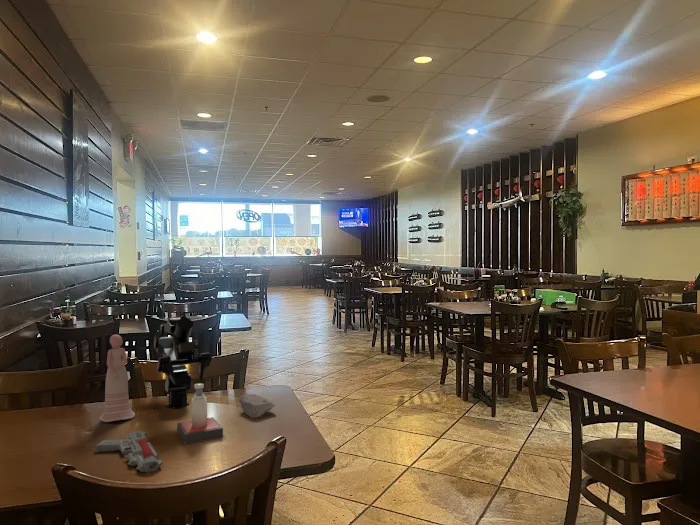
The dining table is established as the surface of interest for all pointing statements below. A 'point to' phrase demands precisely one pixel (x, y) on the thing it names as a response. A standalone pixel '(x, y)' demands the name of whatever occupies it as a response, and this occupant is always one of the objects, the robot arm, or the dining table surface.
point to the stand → (199, 431)
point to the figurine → (116, 384)
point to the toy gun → (134, 451)
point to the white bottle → (199, 407)
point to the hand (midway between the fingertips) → (188, 381)
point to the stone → (255, 405)
